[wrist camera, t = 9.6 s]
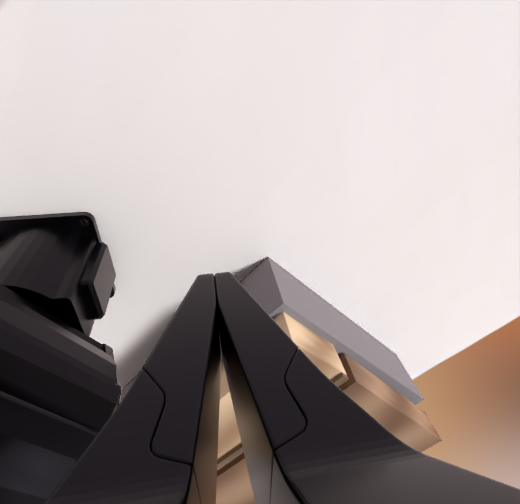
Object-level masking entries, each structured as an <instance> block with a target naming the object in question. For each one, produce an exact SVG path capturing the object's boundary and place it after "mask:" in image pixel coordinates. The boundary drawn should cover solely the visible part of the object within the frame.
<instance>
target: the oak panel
mask: <svg viewBox="0 0 520 504" xmlns="http://www.w3.org/2000/svg"><path fill="white" fill-rule="evenodd" d="M273 320H274V321H275V322H276V323H277V324H278V325H279V326H280V327H281V329H282V330H283V331H284V332H285V333H286V334H287V335H288V336H289V337H290V338H291V339H292V341H293V342H294V343H295V344H296V345H297V346H298V348H299V349H301V350H302V351H303V352H304V354H305V355H306V356H307V357H308V358H309V359H310V360H311V361H312V362H313V363H314V364H315V365H316V366H317V367H318V368H319V369H320V370H321V371H322V373H323V374H324V375H326V376H327V377H328V378H329V379H330V380H331V381H332V382H333V383H334V384H335V385H337V386H338V387H339V386H340V385H342V384H343V383H344V382H346V381H347V380H349V379H348V376H347V374H346V372H345V370H344V367H343V365H342V363H341V361H340V358H339V356H338V354H337V352H336V349H335V347H334V345H333V344H331V343H330V342H328V341H327V340H325V339H323V338H322V337H320V336H319V335H317V334H316V333H314V332H313V331H311V330H310V329H308V328H307V327H305V326H304V325H302V324H301V323H299V322H298V321H296V320H295V319H293V318H292V317H290V316H289V315H287V314H286V313H284V312H282V313H281V314H279V315H278V316H277V317H276V318H275V319H273ZM243 452H244V451H243V447H242V443H241V438H240V434H239V430H238V425H237V421H236V416H235V412H234V408H233V403H232V399H231V395H230V390H229V386H228V382H227V377H226V373H225V369H224V364H223V362H221V379H220V406H219V432H218V458H217V471H218V470H219V469H220V468H222V467H223V466H225V465H226V464H228V463H229V462H230V461H232V460H233V459H235V458H236V457H238V456H239V455H241V454H242V453H243Z"/></svg>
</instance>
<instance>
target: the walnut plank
mask: <svg viewBox="0 0 520 504" xmlns="http://www.w3.org/2000/svg"><path fill="white" fill-rule="evenodd" d="M339 358H340V361H341V363H342V365H343V367H344V370H345V372H346V374H347V376H348V379H349V380H347V381H346V382H344V383H343V384H342V385H340V386H339V388H340V389H341V390H342V391H343V392H344V393H345V394H347V395H348V396H349V397H350V398H351V399H352V400H354V401H355V402H356V403H357V404H358V405H359V406H360V407H362V408H363V409H364V410H365V411H366V412H367V413H369V414H370V415H371V416H372V417H373V418H374V419H375V420H377V421H378V422H379V423H380V424H381V425H382V426H384V427H385V428H386V429H387V430H388V431H389V432H391V433H392V434H393V435H394V436H396V437H397V438H398V439H400V440H401V441H402V442H404V443H405V444H407V445H409V446H410V447H412V448H414V449H415V450H417V451H419V452H422V451H424V450H426V449H428V448H429V447H431V446H433V445H435V444H436V443H438V442H440V441H442V440H441V438H440V436H439V435H438V433H437V431H436V430H435V428H434V426H433V424H432V423H431V421H430V419H429V417H428V416H427V414H426V412H424V411H423V410H422V409H420V408H419V407H418V406H416V405H415V404H413V403H412V402H411V401H409V400H408V399H407V398H405V397H404V396H403V395H401V394H400V393H398V392H397V391H396V390H394V389H393V388H392V387H390V386H389V385H387V384H386V383H385V382H383V381H382V380H381V379H379V378H378V377H376V376H375V375H374V374H372V373H371V372H370V371H368V370H367V369H365V368H364V367H363V366H361V365H360V364H359V363H357V362H356V361H355V360H353V359H352V358H350V357H349V356H348V355H346V354H345V353H342V354H341V355H340V356H339ZM216 504H255V499H254V495H253V490H252V486H251V482H250V477H249V473H248V469H247V464H246V460H245V456H244V452H243V453H242V454H241V455H239V456H238V457H236V458H235V459H233V460H232V461H230V462H229V463H228V464H226V465H225V466H223V467H222V468H220V469H219V470H218V471H217V484H216Z"/></svg>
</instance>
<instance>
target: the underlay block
mask: <svg viewBox="0 0 520 504" xmlns="http://www.w3.org/2000/svg"><path fill="white" fill-rule="evenodd" d="M240 284H241V285H242V286H243V287H244V288H245V289H246V290H247V291H248V292H249V293H250V295H251V296H252V297H253V298H254V299H255V300H256V301H257V302H258V303H259V304H260V306H261V307H262V308H263V309H264V310H265V311H266V312H267V313H268V314H269V315H270V316H271V318H272V319H275V318H276V317H277V316H278V315H279V314H281V313H282V312H284V313H286V314H287V315H289V316H290V317H292V318H293V319H295V320H296V321H298V322H299V323H301V324H302V325H304V326H305V327H307V328H308V329H310V330H311V331H313V332H314V333H316V334H317V335H319V336H320V337H322V338H323V339H325V340H327V341H328V342H330V343H331V344H333V345H334V347H335V349H336V352H337V354H338V356H340V355H341V354H342V353H345V354H346V355H348V356H349V357H350V358H352V359H353V360H355V361H356V362H357V363H359V364H360V365H361V366H363V367H364V368H365V369H367V370H368V371H370V372H371V373H372V374H374V375H375V376H376V377H378V378H379V379H381V380H382V381H383V382H385V383H386V384H387V385H389V386H390V387H392V388H393V389H394V390H396V391H397V392H398V393H400V394H401V395H403V396H404V397H405V398H407V399H408V400H409V401H411V402H412V403H413V404H415V405H416V404H417V403H419V402H421V401H422V400H423V399H424V398H423V397H422V395H421V394H420V392H419V391H418V389H417V387H416V386H415V384H414V383H413V381H412V379H411V378H410V376H409V374H408V373H407V371H406V370H405V368H404V366H403V365H402V363H401V361H400V360H399V358H398V357H397V355H396V354H395V353H394V352H392V351H391V350H390V349H388V348H387V347H386V346H384V345H383V344H382V343H380V342H379V341H378V340H376V339H375V338H374V337H373V336H371V335H370V334H369V333H367V332H366V331H365V330H363V329H362V328H361V327H359V326H358V325H357V324H355V323H354V322H353V321H352V320H350V319H349V318H348V317H346V316H345V315H344V314H342V313H341V312H340V311H338V310H337V309H336V308H334V307H333V306H332V305H331V304H329V303H328V302H327V301H325V300H324V299H323V298H321V297H320V296H319V295H317V294H316V293H315V292H313V291H312V290H311V289H310V288H308V287H307V286H306V285H304V284H303V283H302V282H300V281H299V280H298V279H296V278H295V277H294V276H292V275H291V274H290V273H289V272H287V271H286V270H285V269H283V268H282V267H281V266H279V265H278V264H277V263H275V262H274V261H273V260H271V259H270V258H269V257H267V258H266V259H265V260H264V261H263V262H262V263H261V264H260V265H259V266H257V267H256V268H255V269H254V270H253V271H252V272H251V273H250V274H249V275H248V276H246V277H245V278H244V279H243V280H242V281H241V282H240ZM219 334H220V333H219ZM220 346H221V344H220ZM221 362H223V359H222V353H221ZM137 376H138V375H137ZM137 376H136V377H137ZM136 377H135V378H134V379H133V380H132V381H131V382H130V383H129V384H127V385H126V386H125V387H124V388H123V393H122V398H121V401H122V399H123V398H124V396H125V395H126V393H127V392H128V390H129V389H130V387H131V386H132V384H133V382H134V381H135V379H136Z"/></svg>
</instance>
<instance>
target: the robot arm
mask: <svg viewBox="0 0 520 504" xmlns="http://www.w3.org/2000/svg"><path fill="white" fill-rule="evenodd" d="M82 219H87V220H88V221H89V223H84V222H83V221H82ZM115 277H116V274H115V270H114V267H113V263H112V260H111V256H110V253H109V249H108V246H107V245H106V244H105V243H103V242H102V241H101V238H100V235H99V231H98V228H97V224H96V221H95V218H94V216H93V215H92V214H90V213H88V212H77V213H62V214H47V215H32V216H17V217H2V218H0V504H216V484H217V458H218V432H219V406H220V379H221V353H222V359H223V364H224V369H225V373H226V377H227V382H228V386H229V390H230V395H231V399H232V403H233V408H234V412H235V416H236V421H237V425H238V430H239V434H240V438H241V443H242V447H243V451H244V456H245V460H246V464H247V469H248V473H249V477H250V482H251V486H252V490H253V495H254V499H255V504H520V489H518V488H515V487H512V486H509V485H507V484H504V483H501V482H498V481H495V480H493V479H490V478H487V477H485V476H482V475H479V474H477V473H474V472H471V471H468V470H466V469H463V468H460V467H458V466H455V465H452V464H449V463H447V462H444V461H441V460H438V459H436V458H433V457H430V456H428V455H425V454H423V453H421V452H419V451H417V450H415V449H414V448H412V447H410V446H409V445H407V444H405V443H404V442H402V441H401V440H400V439H398V438H397V437H396V436H394V435H393V434H392V433H391V432H389V431H388V430H387V429H386V428H385V427H384V426H382V425H381V424H380V423H379V422H378V421H377V420H375V419H374V418H373V417H372V416H371V415H370V414H369V413H367V412H366V411H365V410H364V409H363V408H362V407H360V406H359V405H358V404H357V403H356V402H355V401H354V400H352V399H351V398H350V397H349V396H348V395H347V394H345V393H344V392H343V391H342V390H341V389H340V388H339V387H338V386H337V385H335V384H334V383H333V382H332V381H331V380H330V379H329V378H328V377H327V376H326V375H324V374H323V373H322V371H321V370H320V369H319V368H318V367H317V366H316V365H315V364H314V363H313V362H312V361H311V360H310V359H309V358H308V357H307V356H306V355H305V354H304V352H303V351H302V350H301V349H299V348H298V346H297V345H296V344H295V343H294V342H293V341H292V339H291V338H290V337H289V336H288V335H287V334H286V333H285V332H284V331H283V330H282V329H281V327H280V326H279V325H278V324H277V323H276V322H275V321H274V320H273V319H272V318H271V316H270V315H269V314H268V313H267V312H266V311H265V310H264V309H263V308H262V307H261V306H260V304H259V303H258V302H257V301H256V300H255V299H254V298H253V297H252V296H251V295H250V293H249V292H248V291H247V290H246V289H245V288H244V287H243V286H242V285H241V284H240V282H239V281H238V280H237V279H236V278H235V277H234V276H233V275H232V274H231V273H230V272H224V273H216V274H215V278H214V275H213V274H203V275H198V276H197V278H196V279H195V281H194V283H193V284H192V286H191V288H190V289H189V291H188V293H187V294H186V296H185V298H184V299H183V301H182V303H181V304H180V306H179V308H178V309H177V311H176V313H175V314H174V316H173V318H172V319H171V321H170V323H169V324H168V326H167V328H166V329H165V331H164V333H163V334H162V336H161V338H160V339H159V341H158V343H157V344H156V346H155V348H154V349H153V351H152V353H151V354H150V356H149V358H148V359H147V361H146V363H145V364H144V366H143V368H142V369H143V370H141V371H140V372H139V374H138V376H137V377H136V379H135V381H134V382H133V384H132V386H131V387H130V389H129V390H128V392H127V393H126V395H125V396H124V398H123V399H122V401H121V403H120V404H119V399H120V395H121V387H120V386H119V385H118V384H117V377H116V364H115V362H114V356H113V350H112V348H111V347H109V346H108V345H106V344H100V343H99V342H97V341H95V340H94V339H92V338H90V337H89V336H90V333H91V330H92V327H93V324H94V320H95V319H101V318H102V317H103V316H104V315H105V312H106V308H107V305H108V301H109V298H111V297H113V296H114V294H115V285H114V280H115ZM219 333H220V334H219ZM220 344H221V346H220Z"/></svg>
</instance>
